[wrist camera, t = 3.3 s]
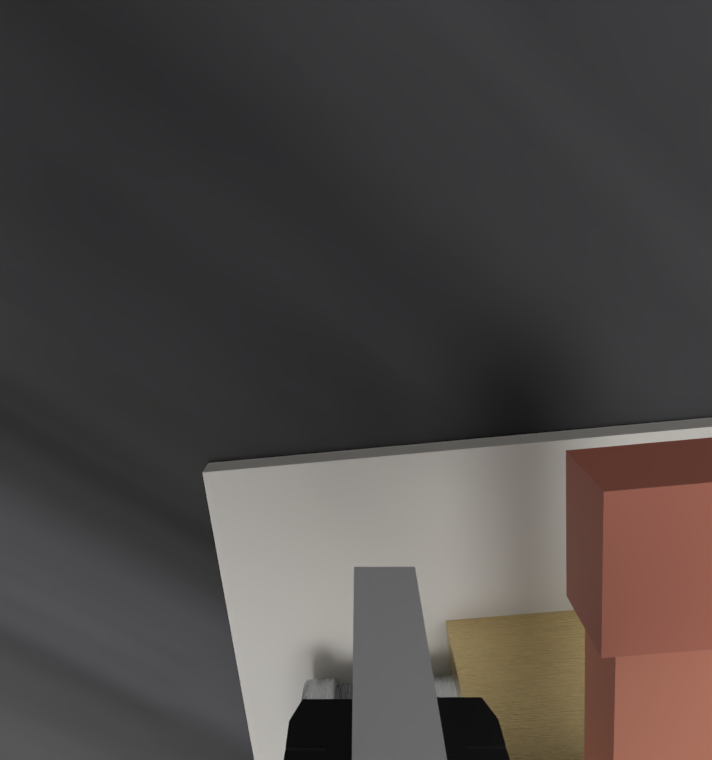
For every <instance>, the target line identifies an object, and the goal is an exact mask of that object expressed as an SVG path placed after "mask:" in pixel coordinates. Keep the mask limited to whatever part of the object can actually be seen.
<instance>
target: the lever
mask: <svg viewBox="0 0 712 760" xmlns="http://www.w3.org/2000/svg"><path fill="white" fill-rule="evenodd" d="M566 596H567V598H568V600H569V601H570V603H571V605H572V607H573V609H574V610H575V612H576V614H577V616H578V617H579V619H580V621H581V623H582V625H583V626H584V628H585V712H584V760H712V437H710V438H699V439H688V440H677V441H665V442H654V443H643V444H632V445H621V446H610V447H598V448H587V449H576V450H566Z"/></svg>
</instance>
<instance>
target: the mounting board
mask: <svg viewBox="0 0 712 760" xmlns="http://www.w3.org/2000/svg"><path fill="white" fill-rule="evenodd" d="M710 437H712V417H709V418H698V419H687V420H676V421H665V422H654V423H643V424H632V425H621V426H610V427H599V428H588V429H577V430H566V431H555V432H544V433H533V434H522V435H511V436H500V437H489V438H478V439H466V440H455V441H444V442H433V443H422V444H411V445H400V446H389V447H378V448H367V449H356V450H345V451H334V452H323V453H312V454H301V455H290V456H279V457H268V458H257V459H246V460H235V461H224V462H213V463H208V464H207V466H206V468H205V469H204V471H203V472H202V474H203V479H204V485H205V490H206V496H207V501H208V507H209V512H210V518H211V523H212V529H213V534H214V540H215V545H216V551H217V556H218V562H219V567H220V573H221V579H222V584H223V590H224V595H225V601H226V606H227V612H228V617H229V623H230V628H231V634H232V639H233V645H234V650H235V656H236V661H237V667H238V673H239V678H240V684H241V689H242V695H243V700H244V706H245V711H246V717H247V722H248V728H249V733H250V739H251V744H252V750H253V755H254V760H284V754H285V750H286V740H287V733H288V725H289V720H290V719H291V717H292V715H293V714H294V712H295V711H296V709H297V707H298V706H299V704H300V703H301V699H302V693H303V688H304V685H305V682H306V681H307V680H310V679H322V678H335V677H336V678H337V680H338V683H339V684H344V683H353V609H354V567H415V570H416V576H417V582H418V588H419V594H420V600H421V606H422V612H423V618H424V624H425V630H426V636H427V642H428V648H429V654H430V660H431V666H432V672H433V676H445V675H449V662H448V648H447V633H446V620H458V619H470V618H482V617H494V616H507V615H519V614H531V613H543V612H555V611H568V610H574V609H573V607H572V605H571V603H570V601H569V600H568V598H567V596H566V450H576V449H587V448H598V447H610V446H621V445H632V444H643V443H654V442H665V441H677V440H688V439H699V438H710Z"/></svg>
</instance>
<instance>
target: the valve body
mask: <svg viewBox="0 0 712 760" xmlns="http://www.w3.org/2000/svg"><path fill="white" fill-rule="evenodd" d="M446 633H447V648H448V662H449V675H445V676H433V678H434V684H435V690H436V696H437V697H482V698H483V700H484V701H485V702H486V704H487V705H488V706H489V708H490V709H491V710H492V711H493V713H494V714H495V715H496V717H497V718H498V720H499V723H500V727H501V730H502V734H503V737H504V741H505V744H506V749H507V751H508V755H509V758H510V760H584V712H585V628H584V626H583V625H582V623H581V621H580V619H579V617H578V616H577V614H576V612H575V610H568V611H555V612H543V613H531V614H519V615H507V616H494V617H482V618H470V619H458V620H446ZM352 696H353V683H344V684H339V683H338V680H337V678H336V677H335V678H322V679H310V680H307V681H306V682H305V685H304V688H303V693H302V699H352ZM302 699H301V701H302Z"/></svg>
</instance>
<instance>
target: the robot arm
mask: <svg viewBox="0 0 712 760" xmlns="http://www.w3.org/2000/svg"><path fill="white" fill-rule="evenodd" d="M284 760H510V758H509V755H508V751H507V749H506V744H505V741H504V737H503V734H502V730H501V727H500V723H499V720H498V718H497V717H496V715H495V714H494V713H493V711H492V710H491V709H490V708H489V706H488V705H487V704H486V702H485V701H484V700H483V698H482V697H437V696H436V690H435V684H434V678H433V672H432V666H431V660H430V654H429V648H428V642H427V636H426V630H425V624H424V618H423V612H422V606H421V600H420V594H419V588H418V582H417V576H416V570H415V567H354V609H353V696H352V699H302V701H301V703H300V704H299V706H298V707H297V709H296V711H295V712H294V714H293V715H292V717H291V719H290V720H289V725H288V733H287V740H286V750H285V754H284Z"/></svg>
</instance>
